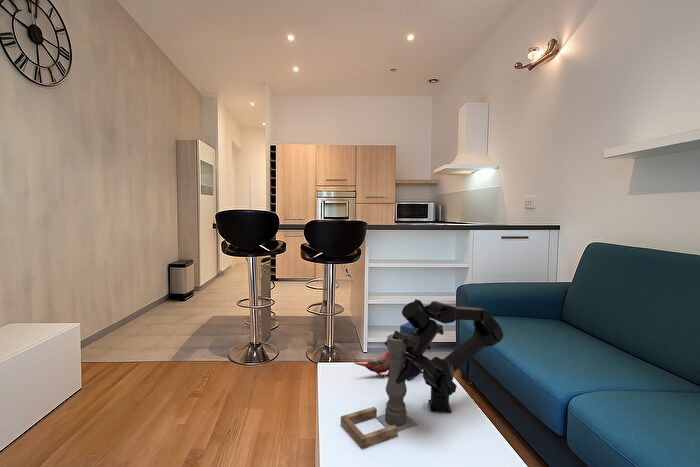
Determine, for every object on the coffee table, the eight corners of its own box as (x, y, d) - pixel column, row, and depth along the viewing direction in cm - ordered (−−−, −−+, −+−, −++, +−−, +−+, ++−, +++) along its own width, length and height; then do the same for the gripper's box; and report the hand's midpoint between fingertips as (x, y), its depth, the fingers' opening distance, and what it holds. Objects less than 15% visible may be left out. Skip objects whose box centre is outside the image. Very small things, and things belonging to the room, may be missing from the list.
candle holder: (405, 415, 108) (407, 334, 107) (406, 427, 102) (408, 341, 101) (385, 413, 109) (386, 333, 107) (385, 425, 103) (386, 340, 101)
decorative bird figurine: (400, 376, 135) (400, 350, 134) (354, 381, 131) (355, 354, 130) (397, 373, 138) (397, 348, 137) (352, 377, 134) (353, 351, 133)
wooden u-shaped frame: (373, 414, 109) (374, 406, 109) (397, 436, 99) (397, 427, 98) (340, 424, 103) (340, 416, 103) (361, 448, 93) (362, 439, 93)
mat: (399, 410, 112) (399, 409, 112) (417, 424, 104) (417, 423, 104) (375, 418, 107) (375, 417, 107) (392, 433, 100) (392, 432, 100)
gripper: (389, 313, 114) (359, 353, 109) (429, 330, 98) (396, 378, 93) (408, 333, 118) (380, 373, 114) (450, 353, 102) (419, 400, 97)
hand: (392, 380), depth 104 cm, fingers closed on candle holder, 4 cm apart
